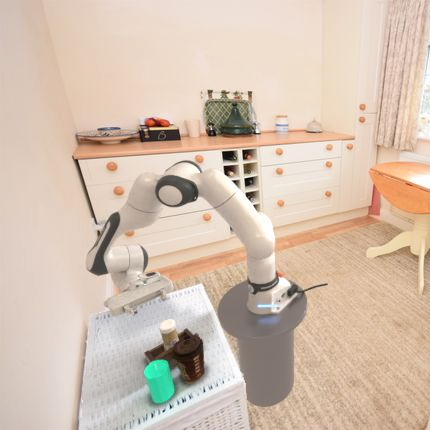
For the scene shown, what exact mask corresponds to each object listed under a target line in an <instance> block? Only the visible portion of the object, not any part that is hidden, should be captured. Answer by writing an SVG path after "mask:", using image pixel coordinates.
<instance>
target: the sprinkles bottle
mask: <svg viewBox="0 0 430 430" xmlns="http://www.w3.org/2000/svg"><path fill="white" fill-rule="evenodd" d="M158 329H159V332H160V336H161V340H162V343H163V345H164V348H165V351H167V350H169V349H170V348H172V347H174V345H175V343H176V342H177V341H179V339H178V331H177V325H176V321H175V320H174V319H171V318H170V319H169V318H168V319H165V320H163V321H161V322H160V323H159V325H158Z"/></svg>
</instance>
